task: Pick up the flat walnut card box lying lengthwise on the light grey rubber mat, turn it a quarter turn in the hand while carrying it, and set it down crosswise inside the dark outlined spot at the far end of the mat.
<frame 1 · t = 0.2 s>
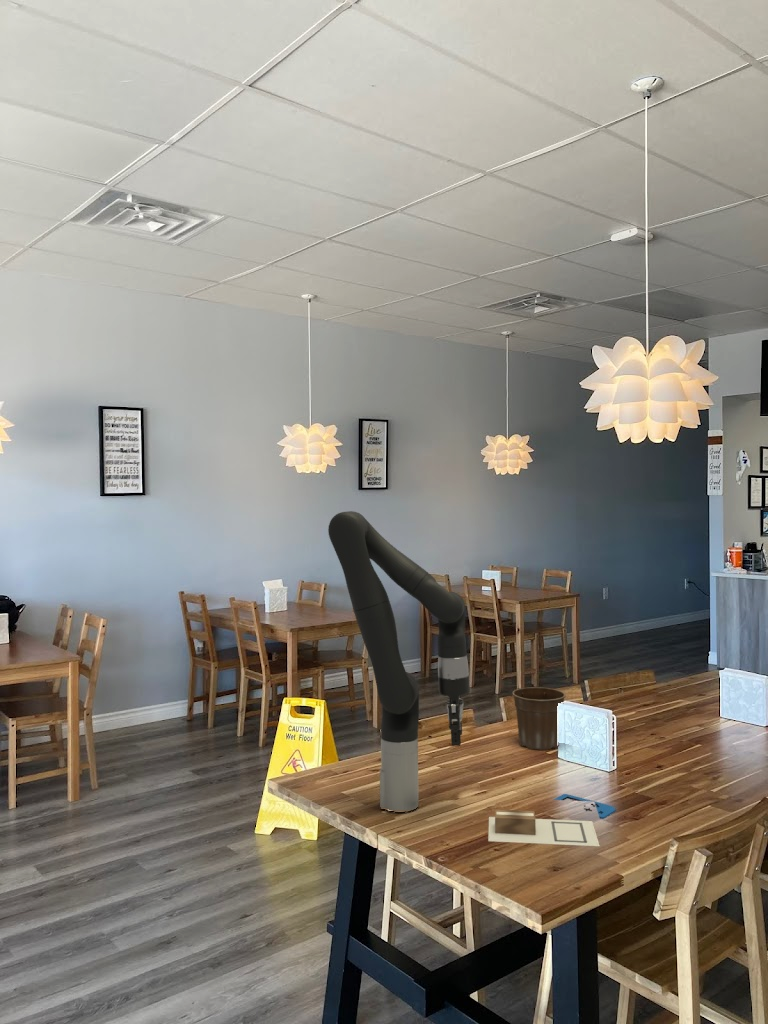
hand: (457, 739, 200), 17 cm above the table, tool pointing down, fingers open, 8 cm apart
handheld gaming device: (583, 809, 201), on the table
card box: (515, 829, 186), resting on mat
mat: (541, 833, 186), on the table
plant pot: (539, 745, 253), on the table
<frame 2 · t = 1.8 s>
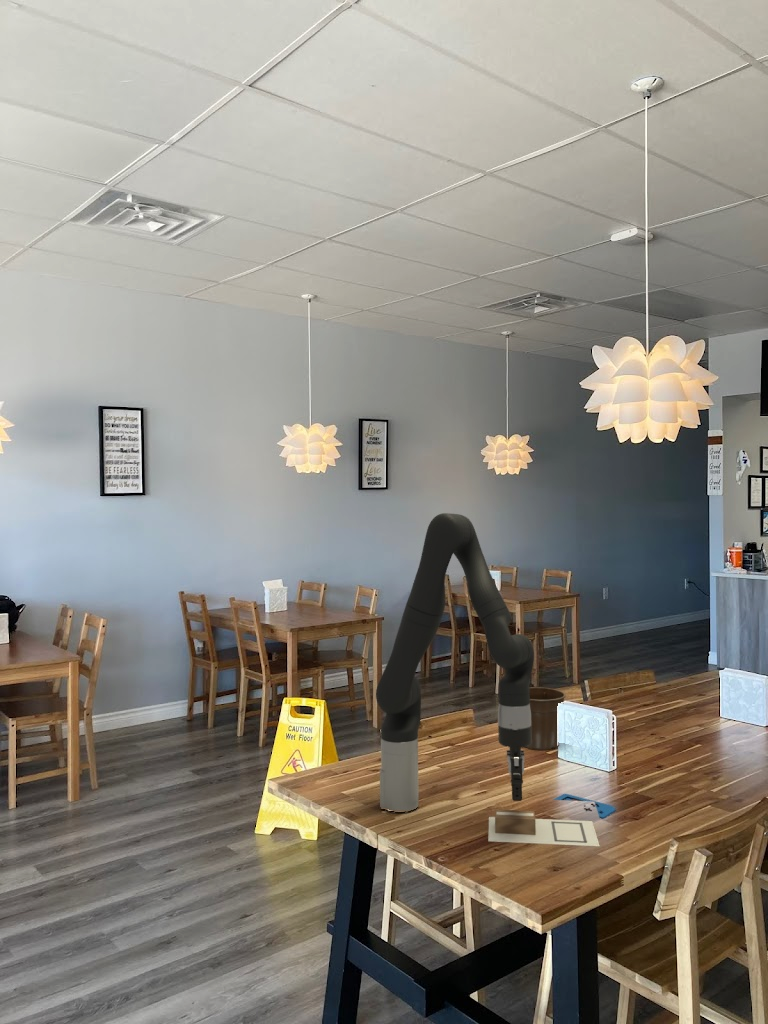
hand: (516, 793, 186), 9 cm above the table, tool pointing down, fingers open, 8 cm apart
nothing on the table moved.
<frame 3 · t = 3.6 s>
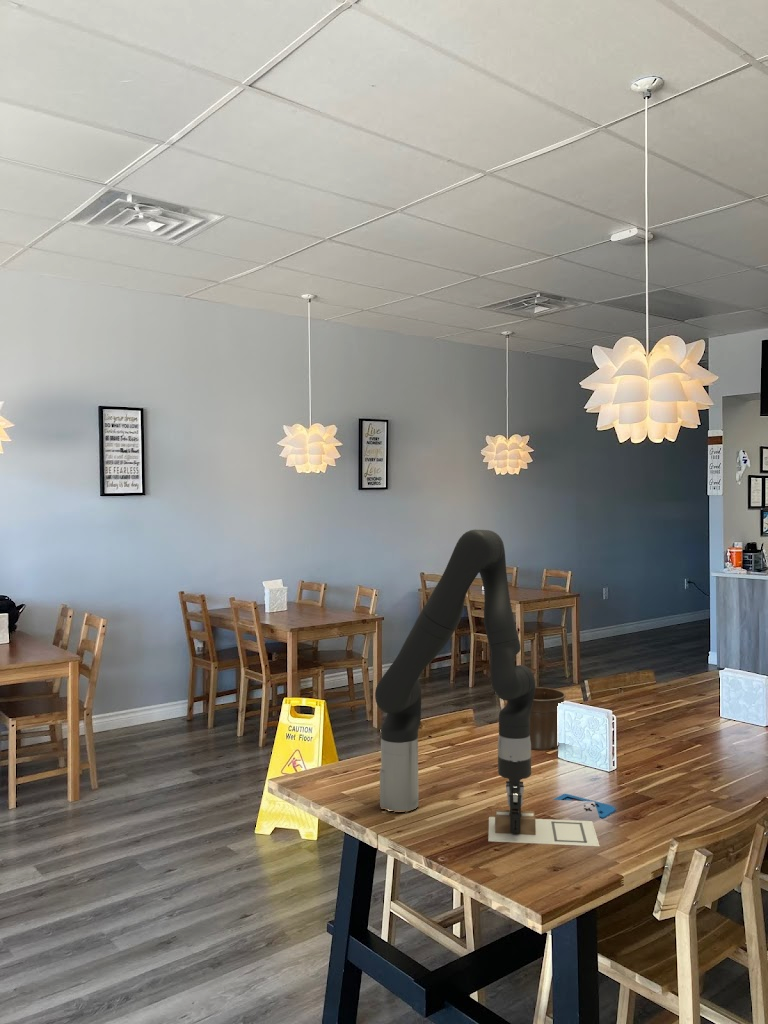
hand: (515, 827, 186), 1 cm above the table, tool pointing down, fingers closed on card box, 5 cm apart
card box: (515, 829, 186), point 1 cm above the table, touching gripper, mat
everything else where it was.
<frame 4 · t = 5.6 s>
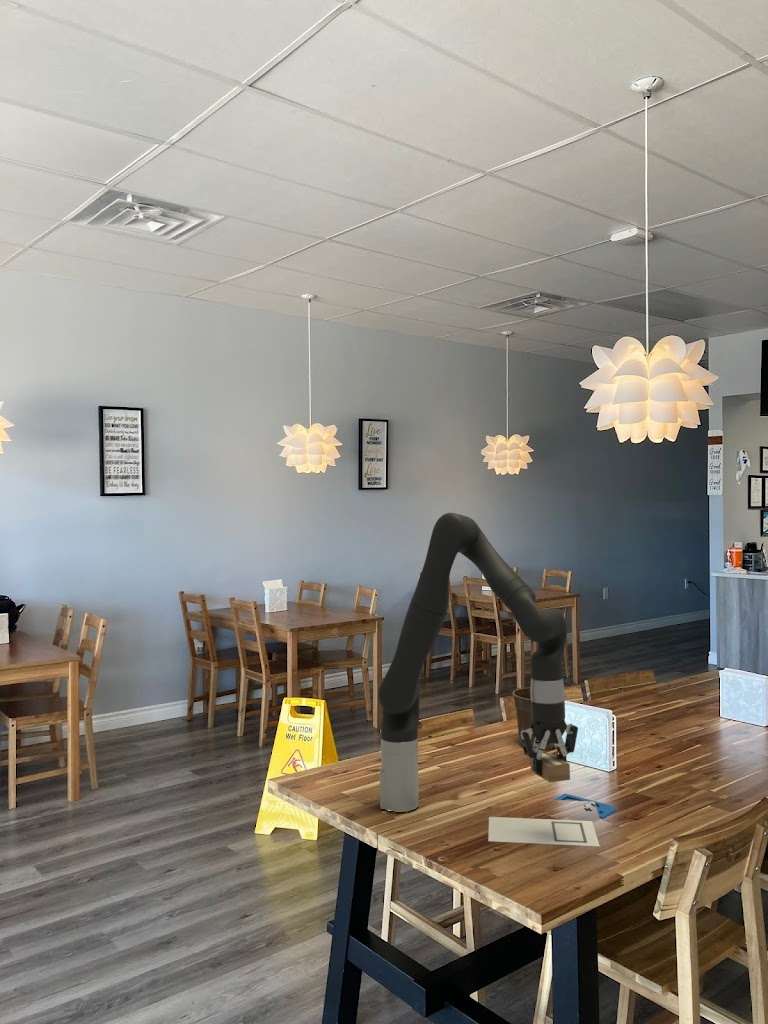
hand: (550, 773, 184), 14 cm above the table, tool pointing down, fingers closed on card box, 5 cm apart
card box: (550, 774, 184), point 14 cm above the table, touching gripper
everything else where it was.
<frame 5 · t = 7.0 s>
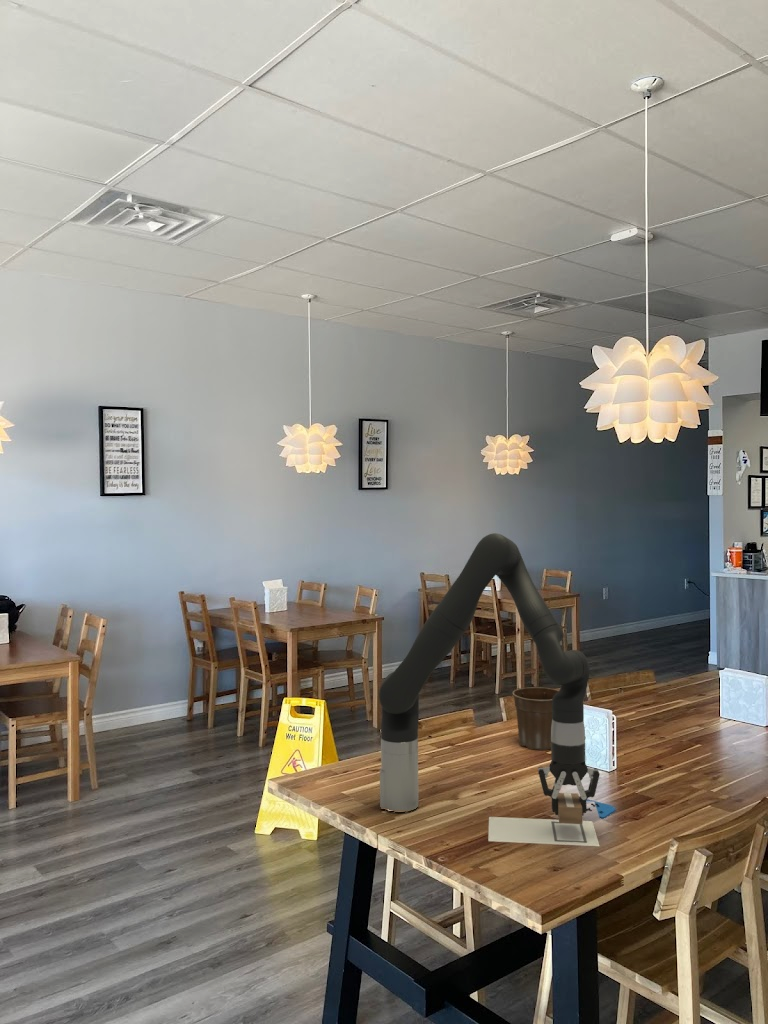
hand: (568, 813, 185), 5 cm above the table, tool pointing down, fingers closed on card box, 5 cm apart
card box: (569, 815, 185), point 4 cm above the table, touching gripper
everything else where it was.
when the fingers open (2 cm above the table, at t = 8.0 s): card box stays where it is, resting on mat.
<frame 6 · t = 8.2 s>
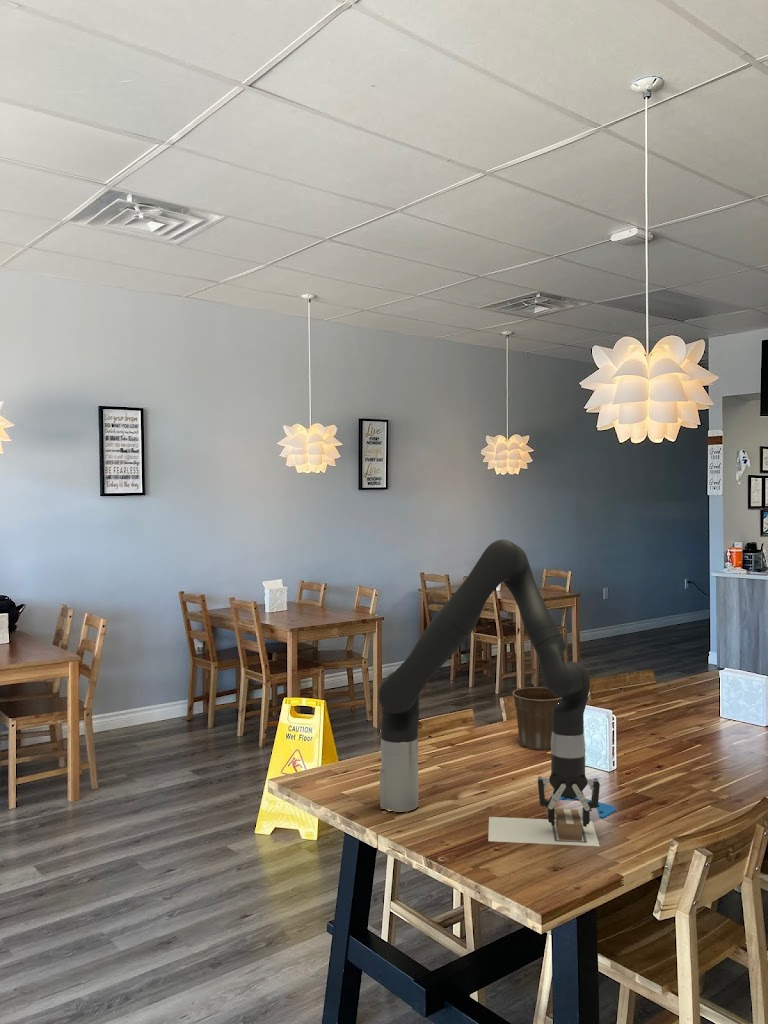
hand: (568, 824, 185), 2 cm above the table, tool pointing down, fingers open, 6 cm apart
card box: (568, 832, 185), resting on mat
everything else where it was.
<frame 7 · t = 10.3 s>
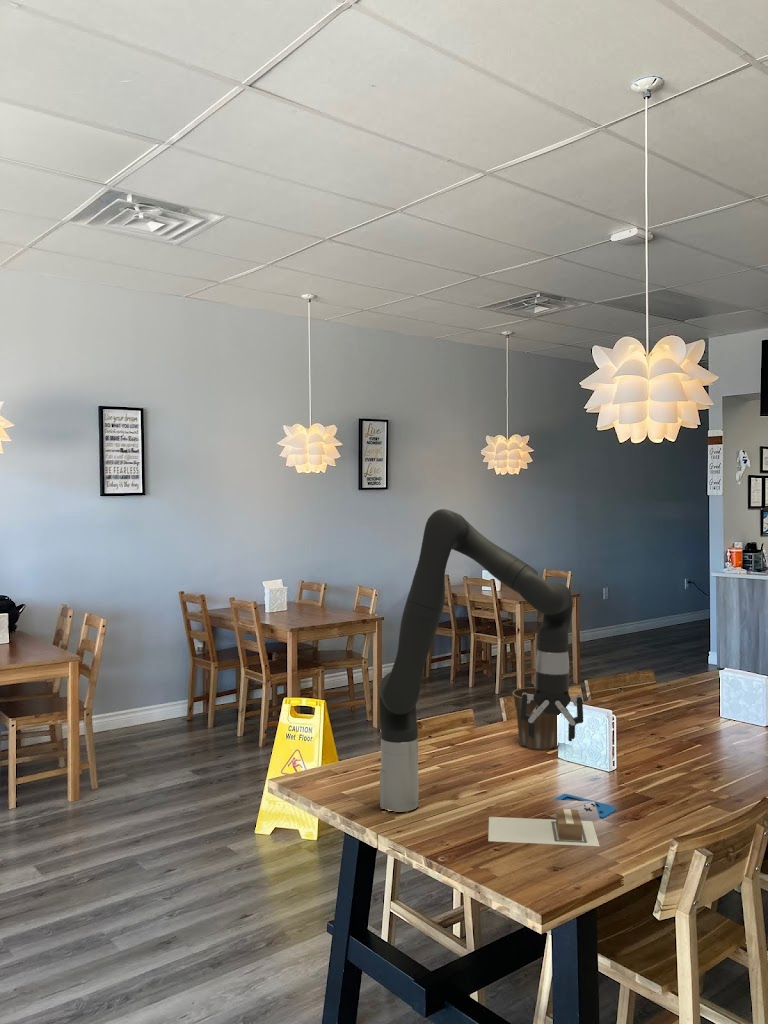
hand: (551, 739, 189), 20 cm above the table, tool pointing down, fingers open, 8 cm apart
nothing on the table moved.
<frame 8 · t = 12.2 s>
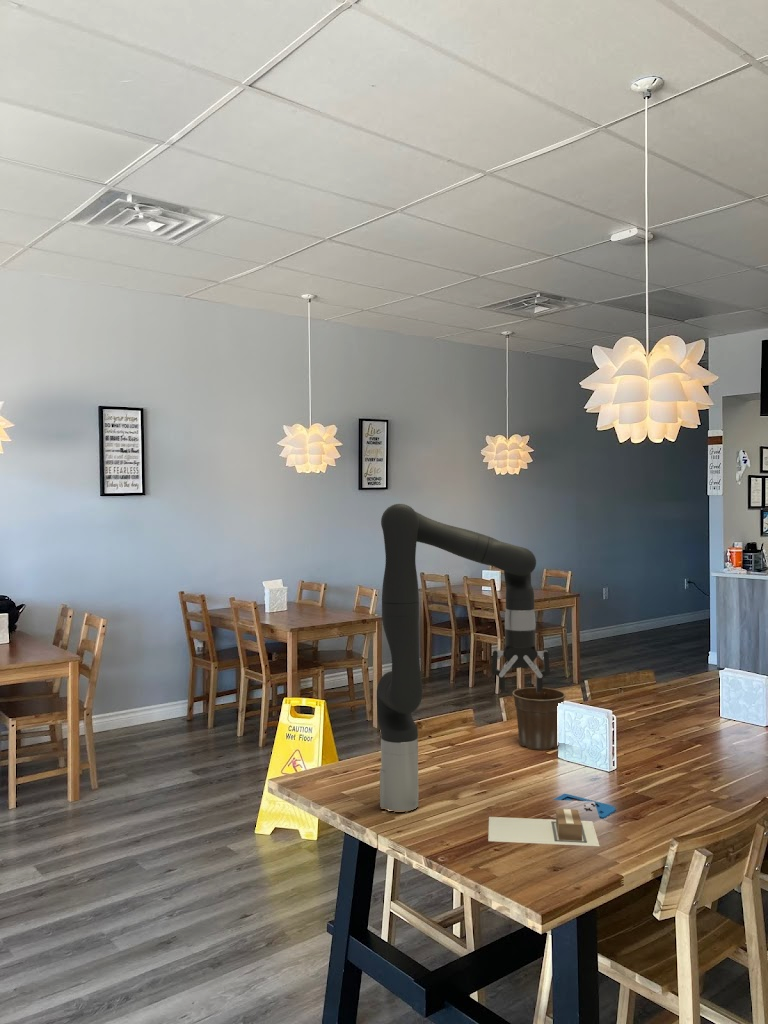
hand: (520, 691, 203), 28 cm above the table, tool pointing down, fingers open, 8 cm apart
nothing on the table moved.
at the end: card box 0.0 cm from the target spot on the mat, point 0.5 cm above the mat's base; card box tilted 0°; the gripper is holding nothing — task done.
